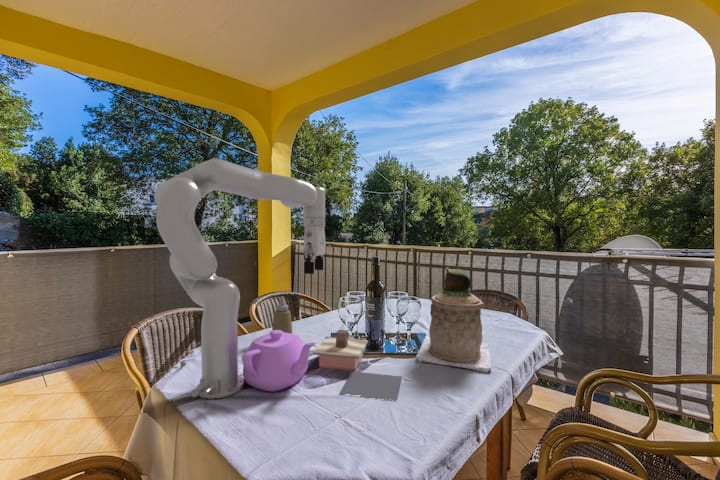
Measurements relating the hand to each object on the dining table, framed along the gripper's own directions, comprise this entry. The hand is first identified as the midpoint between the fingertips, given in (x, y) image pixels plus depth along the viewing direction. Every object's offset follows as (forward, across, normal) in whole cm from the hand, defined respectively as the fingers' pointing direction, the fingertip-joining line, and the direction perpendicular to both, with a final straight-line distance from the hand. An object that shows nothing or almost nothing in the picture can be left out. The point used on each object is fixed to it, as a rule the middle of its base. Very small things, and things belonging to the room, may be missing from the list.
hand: (314, 271), depth 118 cm
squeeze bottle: (+31, +12, +18) cm, 37 cm away
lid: (+25, -3, -11) cm, 28 cm away
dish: (+30, -3, -11) cm, 32 cm away
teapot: (+31, -20, +4) cm, 37 cm away
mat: (+30, -17, -24) cm, 42 cm away
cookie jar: (+31, +13, -49) cm, 59 cm away
